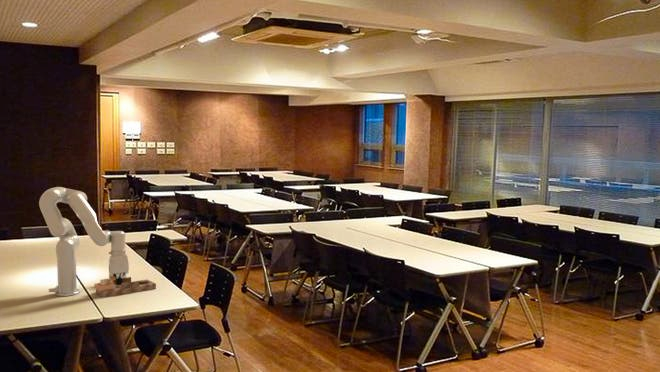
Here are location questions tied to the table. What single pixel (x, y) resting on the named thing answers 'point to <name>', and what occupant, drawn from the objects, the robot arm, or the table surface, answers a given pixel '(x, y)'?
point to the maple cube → (105, 282)
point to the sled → (104, 287)
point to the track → (128, 287)
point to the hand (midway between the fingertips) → (119, 284)
